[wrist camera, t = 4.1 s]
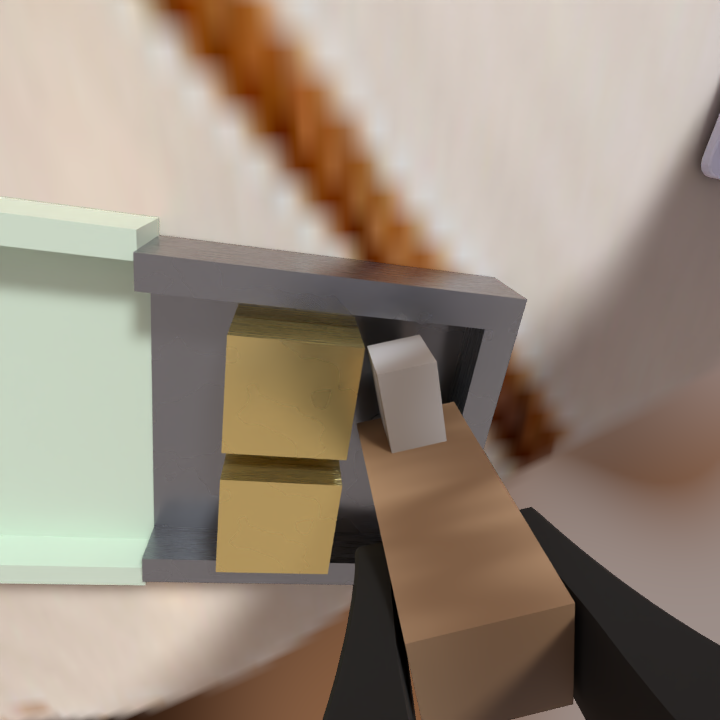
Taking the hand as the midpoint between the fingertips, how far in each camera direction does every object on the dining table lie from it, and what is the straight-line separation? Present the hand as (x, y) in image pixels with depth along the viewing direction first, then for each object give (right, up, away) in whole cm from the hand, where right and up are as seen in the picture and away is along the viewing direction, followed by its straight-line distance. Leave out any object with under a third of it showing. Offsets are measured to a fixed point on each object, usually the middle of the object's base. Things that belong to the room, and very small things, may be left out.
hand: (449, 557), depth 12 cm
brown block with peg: (-1, +2, +3) cm, 4 cm away
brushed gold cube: (-4, +5, +4) cm, 7 cm away
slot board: (-4, +3, +5) cm, 7 cm away
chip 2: (-5, +1, +5) cm, 7 cm away
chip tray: (-13, +4, +4) cm, 14 cm away
